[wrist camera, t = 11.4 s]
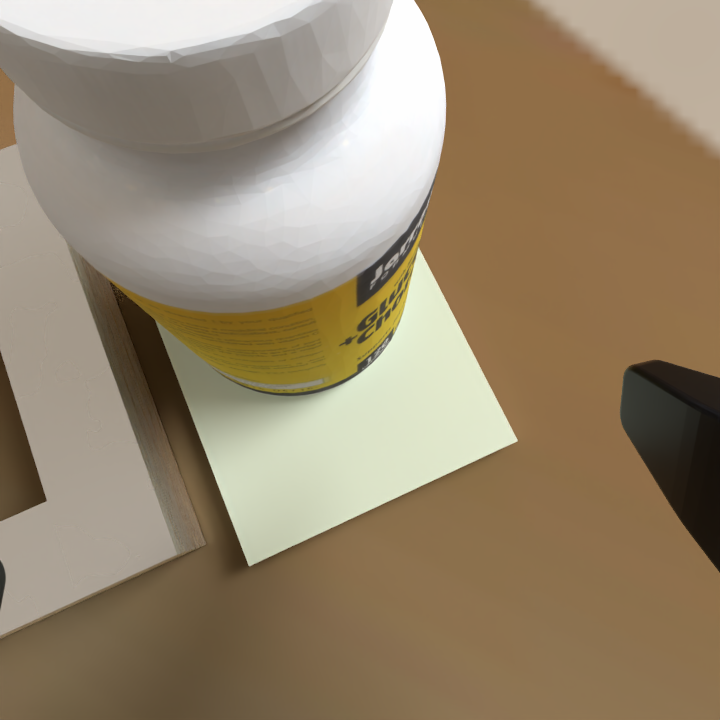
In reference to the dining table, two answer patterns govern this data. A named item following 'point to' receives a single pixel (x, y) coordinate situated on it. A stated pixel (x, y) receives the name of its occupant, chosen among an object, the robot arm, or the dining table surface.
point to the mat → (345, 429)
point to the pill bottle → (237, 167)
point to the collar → (78, 425)
